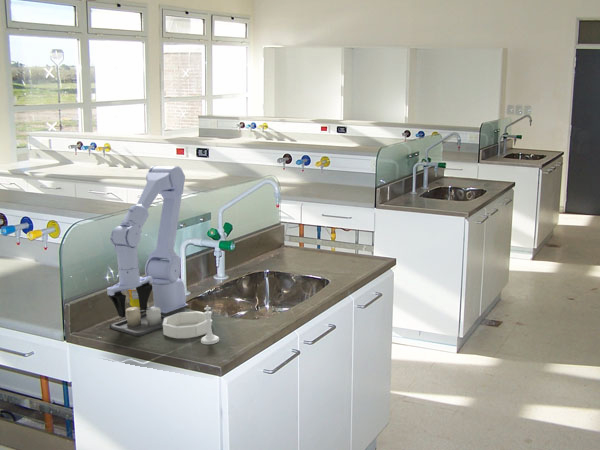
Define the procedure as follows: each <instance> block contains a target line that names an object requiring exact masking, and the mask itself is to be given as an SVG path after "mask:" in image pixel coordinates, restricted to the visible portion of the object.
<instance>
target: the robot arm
mask: <svg viewBox="0 0 600 450" xmlns="http://www.w3.org/2000/svg"><path fill="white" fill-rule="evenodd" d="M147 171H148V172H147V173H146V175H145V180H146V184H145V185H144V188H143V191H141V192H142V193H141V194H140V197H139V199H138V201H137V203H136V204H133V205H131V206H130V207H129V209H128V211H127V212H126V214H125V216H124V218H123V220H122V221H121V223H120V225H118V226H116V227H114V228H113V230H112V231H111V236H110V242H111V244H112V245H113V248H114V249H113V250H114V252H115V253H116V259H117V270H118V279H119V281H118V283H116V284H114V285H112V286H109V287H106V292H107V294H106V295H107V296H108V297H109V299H110V300H111V301H112V303H113V305H114V307H115V309H116V312H117V314H118V317H120V318H125V317H126V299H127V295H125V294H123V293H122V292H125V291H128V290H129V289H132V288H136V290H137V293H138V297H139V305H140V309H142V310H145V311H146V309H147V303H148V304H149V297H150V295H151V292H152V297H153V305H152V306H151V307H150V308H152V307H159V308H160V311H161V313H162V314H167V313H171V312H173V311H176V310H179V309H181V308H182V309H183V308H184V307H186V306H188V303H187V301H186V300H187V299H186V291H185V289H186V287H185V284H184V281H183V280H182V278H180V276H181V273H182V272H181V271H182V269H181V268H182V267H181V257H180V255H178V254H177V252H176V251H175V245H176V238H177V231H178V224H179V218H180V211H181V203H182V197H183V196H182V195H183V194H184V187H185V181H186V175H185V173H184V172H183V169H182V168H181V167H180V166H179V165H178V166H177V165H176V166H157V165H152V166H151V167H150V168H149V170H147ZM159 195H161V197H162V198H163V201H162V206H161V215H160V221H159V227H158V235H157V240H156V248H155V249H154V250H152V252H150V253H149V254H148V258H147V261H146V263H145V265H144V273H145V276H140V267H139V258H138V257H139V256H138V244H139V243H140V242H141V237H142V236H141V234H142V229H143V226H144V225H145V223H146V221H147V219H148V218H149V215H150V214H149V208H150V207H151V206H152V204H153V202H154V201H155V199H156V198H157V196H159ZM140 277H141V278H140Z"/></svg>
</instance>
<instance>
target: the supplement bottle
mask: <svg viewBox="0 0 600 450" xmlns="http://www.w3.org/2000/svg"><path fill="white" fill-rule="evenodd" d="M141 277H142V276H140V278H141ZM127 291H128V300H129V299H130V300H129V307H130V306H131V307H139V308H140V305H139V297H138V293H137V290H136V288H132V289H129V290H127ZM148 308H150V305H149V302H148V303H147V309H148ZM145 311H146V310H142V309H140V313H141V312H145Z"/></svg>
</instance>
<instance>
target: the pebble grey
mask: <svg viewBox="0 0 600 450" xmlns="http://www.w3.org/2000/svg"><path fill="white" fill-rule="evenodd" d="M151 307H152V308H151ZM151 307H149V308H148V309H146V310H145V311H146V314H147V324H148V326H150V327H154V326H157V325H159V324H162V321H161V315H162V314H161V311H160V308H159V307H153V306H151Z"/></svg>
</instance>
